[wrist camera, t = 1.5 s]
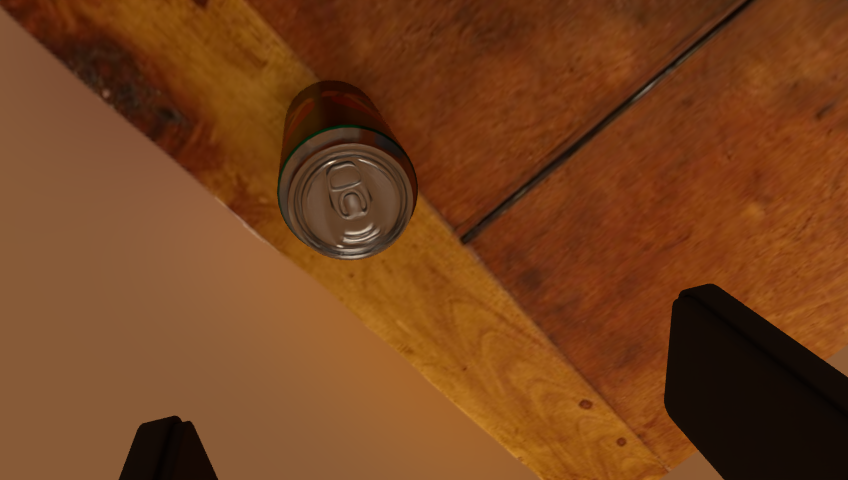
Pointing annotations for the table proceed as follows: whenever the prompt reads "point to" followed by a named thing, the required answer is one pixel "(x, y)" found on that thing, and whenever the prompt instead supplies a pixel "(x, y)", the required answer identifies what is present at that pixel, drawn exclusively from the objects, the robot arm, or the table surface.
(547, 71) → the table surface
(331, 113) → the soda can
